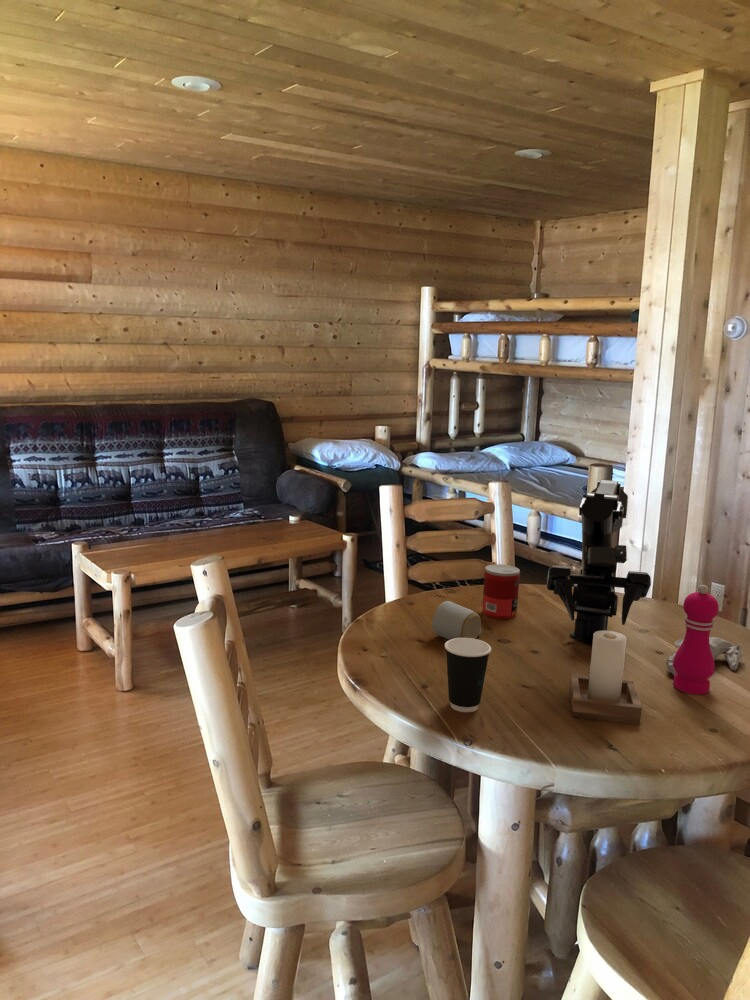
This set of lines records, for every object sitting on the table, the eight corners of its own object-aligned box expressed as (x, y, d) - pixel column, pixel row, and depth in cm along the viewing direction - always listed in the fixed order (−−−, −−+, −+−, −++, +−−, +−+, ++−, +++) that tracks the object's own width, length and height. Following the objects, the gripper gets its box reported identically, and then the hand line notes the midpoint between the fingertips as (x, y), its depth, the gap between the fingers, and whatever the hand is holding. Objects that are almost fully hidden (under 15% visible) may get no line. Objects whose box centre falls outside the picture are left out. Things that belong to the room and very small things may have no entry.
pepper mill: (663, 679, 152) (675, 578, 148) (700, 679, 153) (712, 579, 149) (681, 696, 145) (693, 591, 141) (719, 696, 146) (732, 591, 142)
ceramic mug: (462, 649, 163) (465, 614, 162) (430, 639, 168) (432, 604, 167) (490, 637, 171) (493, 603, 170) (459, 627, 176) (461, 594, 175)
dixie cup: (434, 697, 141) (438, 638, 139) (476, 694, 143) (480, 636, 141) (450, 718, 133) (454, 656, 131) (494, 714, 135) (498, 653, 133)
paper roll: (594, 691, 143) (600, 627, 141) (624, 700, 140) (631, 635, 138) (582, 701, 139) (588, 636, 136) (613, 711, 136) (620, 644, 133)
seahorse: (712, 686, 148) (755, 646, 161) (658, 650, 154) (703, 613, 167) (702, 706, 150) (745, 664, 163) (648, 669, 157) (694, 632, 170)
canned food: (519, 620, 182) (522, 574, 179) (484, 619, 182) (487, 572, 180) (513, 609, 189) (517, 564, 187) (480, 608, 189) (483, 563, 187)
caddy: (569, 689, 146) (570, 674, 145) (631, 696, 144) (633, 681, 143) (572, 716, 135) (573, 700, 135) (639, 724, 133) (641, 708, 133)
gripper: (552, 524, 151) (551, 598, 143) (654, 531, 149) (659, 607, 140) (547, 553, 161) (545, 624, 152) (643, 560, 158) (646, 633, 150)
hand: (598, 622), depth 148 cm, fingers open, 9 cm apart
